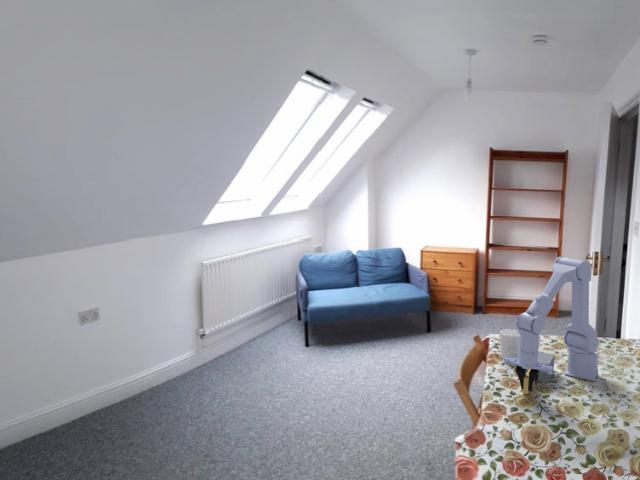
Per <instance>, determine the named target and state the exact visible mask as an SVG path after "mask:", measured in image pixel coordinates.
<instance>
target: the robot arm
mask: <svg viewBox="0 0 640 480" xmlns="http://www.w3.org/2000/svg"><path fill="white" fill-rule="evenodd" d="M590 282H592V264H591V263H590V262H588V261H587V260H581V259H575V258H570V257H565V256H558V257H557V258H556V259H555V260H554V262H553V264H552V275H551V277H550V278H549V280H548V282H547V284H546V286H545V288H544V290H543V292H542V293H540V294H536V296H535V297H534V299H533V300H532V302H531V304H530V305H529V306H528V308H527V309H526V311H524V312H523V313H520V314H519V315H518V317H517V320H516V322H515V324H516V328H517V329H518V330H517V331H518V333H519V334H520V343H519V358H510V357H505V358H504V359H503V365H510V366H514V367H515V366H516V367H515V374H516V375H517V377H518V381H519V384H520V388H521V390H523V385H524V377H525V374H526V369H531V370H530V371H529V386H528V391H530V392H531V391H532V389H533V387H532V385H533V382H534V380H536V378H537V377H538V373H539V371H541V372H546V373H548V374H552V372H553V373H554V371H553V367H552V366H548V365H545V364H542V363H539V362H538V352H539V347H540V334H541V332H542V331H543V330H544V328H545V324H546V321H547V318H546V317H547V316H548V315H549V312H550V311H551V309H552V308H553V307H554V299H555V297H556V296H557V295H558V293H559V292H560V291H561V290H562V288H563V287H564V286H565V284H566V283H571V323H569V324H568V325H566V326H565V332H564V334H563V341H564V344H565V345H566V349H568V355H567V367H566V369H565V372H564V375H565V376H569V377H573V378H578V379H584V380H587V381H592V382H596V379H597V376H598V374H599V369H598V368H599V353H598V352H596V351H597V349H598V348H599V344H600V341H599V337H598V331H597V329H595V328H594V327H593V326H592V325H591V324H590ZM533 386H534V385H533Z"/></svg>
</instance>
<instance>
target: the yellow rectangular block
mask: <svg viewBox="0 0 640 480" xmlns="http://www.w3.org/2000/svg"><path fill="white" fill-rule="evenodd" d="M530 370H531V369H529V370H528V372H527V374H526V375H525V377H524V385H523V389H522V394H523V395H527V396H528V395H529V394H530V392H531V391H528V386H529V371H530ZM535 380H536V379H535ZM535 380H534V382H533V385H532V388H533V387H534V385H535V382H536V381H535Z"/></svg>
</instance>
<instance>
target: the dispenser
mask: <svg viewBox="0 0 640 480" xmlns="http://www.w3.org/2000/svg"><path fill="white" fill-rule="evenodd" d="M538 362H539V363H542V364H545V365H548V366H552V367H553V372H552V374H548V373H546V372H541V371H539V373H538V374H537V381H538V382H540V383H545V384H549V382H550V380H551V379H552V377H553V374H554V368H555V354H552V353H549V352H542V351H538ZM528 370H529V369H526V374H527V372H528ZM526 374H525V375H526Z"/></svg>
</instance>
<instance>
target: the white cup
mask: <svg viewBox="0 0 640 480" xmlns="http://www.w3.org/2000/svg"><path fill="white" fill-rule="evenodd" d="M519 343H520V334H519V333H518V330H515V329H511V328H506V329H501V330H500V331H499V345H500V346H499V350H500V358H502V359H503V360H504V358H505V357H510V358H519Z"/></svg>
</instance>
